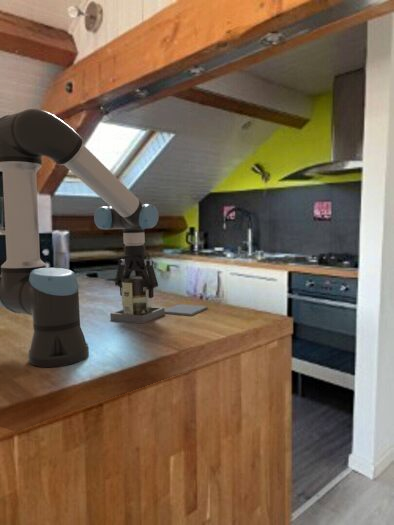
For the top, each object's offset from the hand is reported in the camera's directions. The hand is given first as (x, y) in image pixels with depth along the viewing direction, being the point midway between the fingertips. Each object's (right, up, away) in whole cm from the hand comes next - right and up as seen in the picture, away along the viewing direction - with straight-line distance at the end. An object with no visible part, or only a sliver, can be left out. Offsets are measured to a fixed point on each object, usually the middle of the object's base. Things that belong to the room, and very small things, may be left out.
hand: (137, 305), depth 154 cm
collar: (0, -4, +1) cm, 4 cm away
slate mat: (+17, -3, +9) cm, 19 cm away
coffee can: (0, -4, 0) cm, 4 cm away
